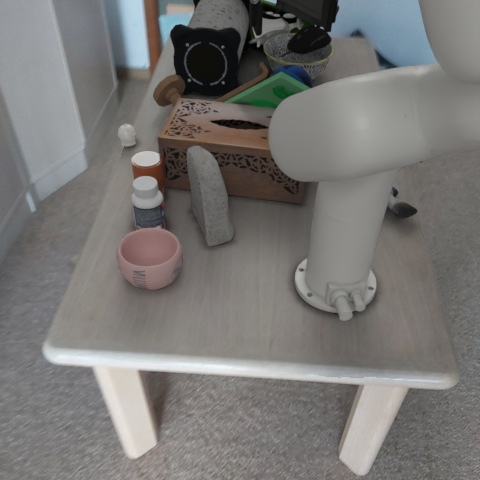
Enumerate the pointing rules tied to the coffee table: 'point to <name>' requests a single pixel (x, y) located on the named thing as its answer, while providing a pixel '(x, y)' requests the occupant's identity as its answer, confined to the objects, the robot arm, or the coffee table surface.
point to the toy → (270, 91)
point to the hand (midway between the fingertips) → (291, 30)
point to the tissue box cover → (226, 148)
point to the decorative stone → (209, 196)
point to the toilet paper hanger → (175, 85)
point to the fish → (400, 206)
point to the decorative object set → (127, 134)
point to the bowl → (296, 56)
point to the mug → (150, 258)
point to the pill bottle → (147, 203)
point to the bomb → (296, 74)
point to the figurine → (274, 29)
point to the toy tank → (270, 12)
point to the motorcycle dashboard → (303, 9)
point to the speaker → (212, 46)
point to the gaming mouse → (308, 40)
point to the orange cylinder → (149, 167)
